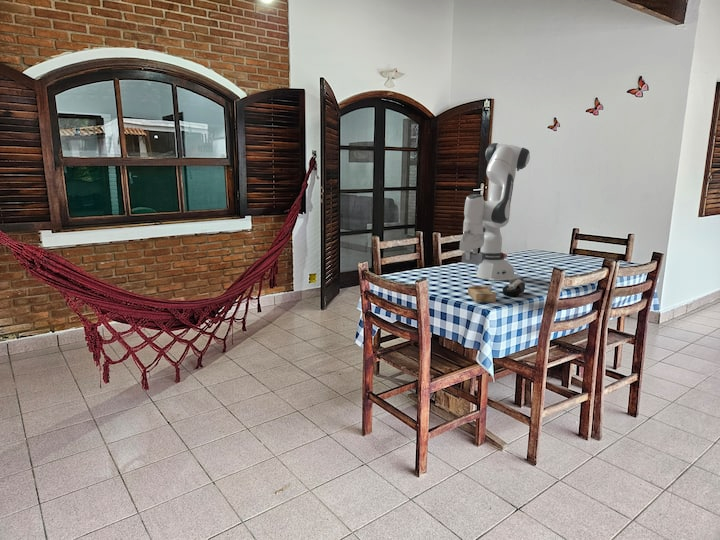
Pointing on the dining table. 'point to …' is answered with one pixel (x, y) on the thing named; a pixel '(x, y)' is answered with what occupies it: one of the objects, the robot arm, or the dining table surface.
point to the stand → (481, 294)
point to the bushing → (489, 287)
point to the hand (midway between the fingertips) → (471, 258)
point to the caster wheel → (514, 287)
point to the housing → (472, 258)
